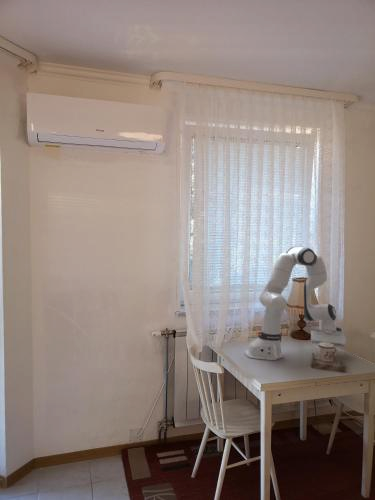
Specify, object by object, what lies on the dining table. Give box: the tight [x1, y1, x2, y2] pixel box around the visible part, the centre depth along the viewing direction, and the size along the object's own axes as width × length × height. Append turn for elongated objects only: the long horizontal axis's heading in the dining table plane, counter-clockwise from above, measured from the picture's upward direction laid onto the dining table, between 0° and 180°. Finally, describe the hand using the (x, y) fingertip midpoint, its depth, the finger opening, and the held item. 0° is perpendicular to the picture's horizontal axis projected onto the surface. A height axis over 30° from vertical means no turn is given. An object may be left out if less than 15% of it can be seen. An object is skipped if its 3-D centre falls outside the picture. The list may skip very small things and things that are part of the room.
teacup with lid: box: [317, 340, 338, 363], centre depth 215 cm, size 12×9×12 cm
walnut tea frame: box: [310, 352, 346, 373], centre depth 207 cm, size 17×18×3 cm
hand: (328, 350), depth 217 cm, fingers closed
